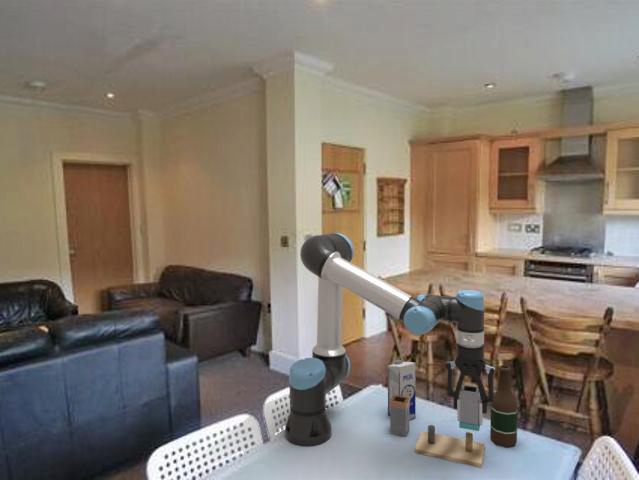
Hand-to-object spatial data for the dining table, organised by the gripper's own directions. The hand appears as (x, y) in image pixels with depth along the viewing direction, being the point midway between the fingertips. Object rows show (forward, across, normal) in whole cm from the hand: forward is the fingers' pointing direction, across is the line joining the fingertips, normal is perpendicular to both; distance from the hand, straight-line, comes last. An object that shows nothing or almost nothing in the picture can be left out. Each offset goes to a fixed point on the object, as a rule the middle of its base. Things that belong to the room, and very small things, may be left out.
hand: (470, 420), depth 128 cm
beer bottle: (+11, +9, +12) cm, 18 cm away
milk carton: (+10, -24, +14) cm, 30 cm away
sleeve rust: (+10, -22, +4) cm, 25 cm away
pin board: (+10, -6, 0) cm, 12 cm away
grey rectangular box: (+1, 0, 0) cm, 1 cm away
